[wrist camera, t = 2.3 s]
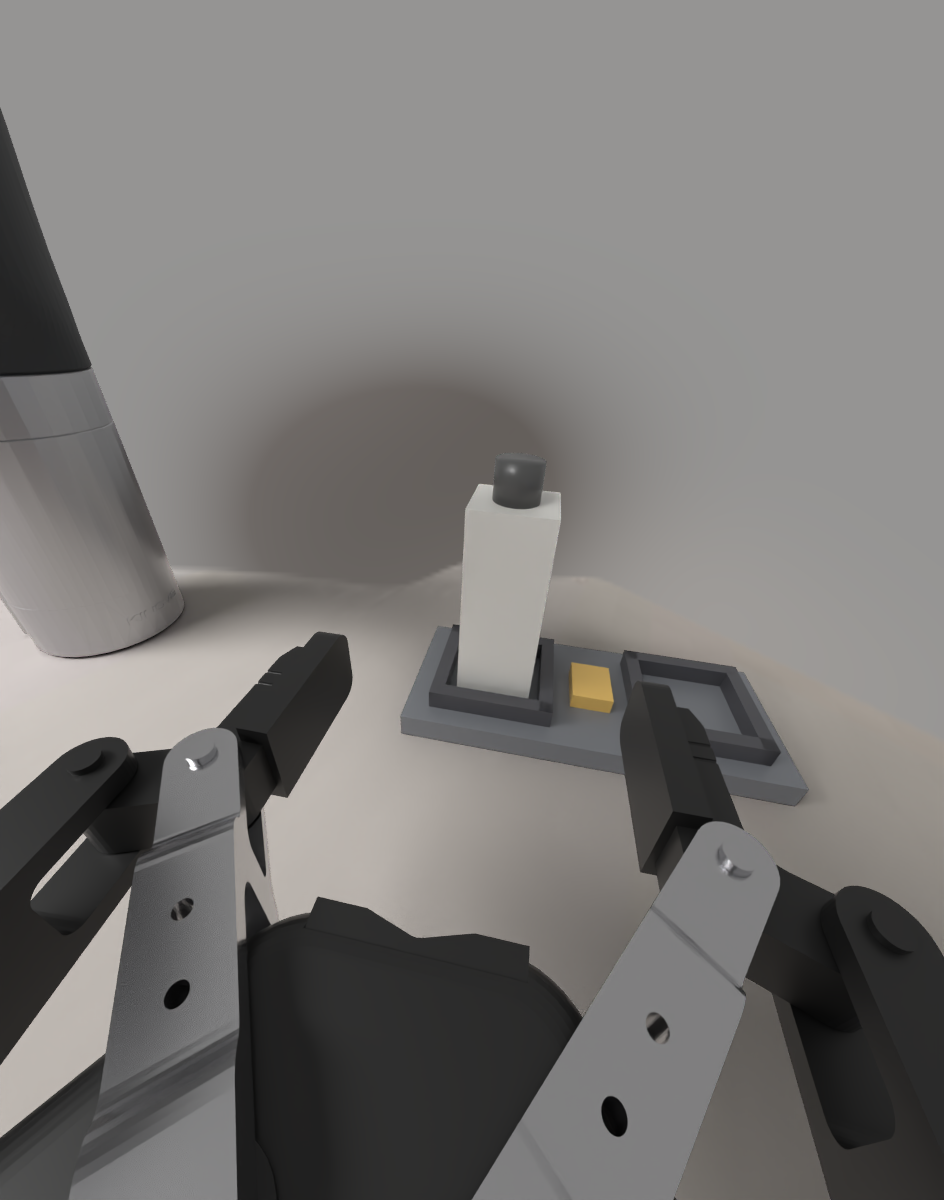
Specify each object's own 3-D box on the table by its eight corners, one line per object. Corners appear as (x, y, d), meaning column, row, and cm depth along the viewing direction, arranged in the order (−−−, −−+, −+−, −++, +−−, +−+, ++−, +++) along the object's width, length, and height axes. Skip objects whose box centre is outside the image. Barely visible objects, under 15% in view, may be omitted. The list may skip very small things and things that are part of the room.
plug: (456, 693, 26) (467, 465, 18) (468, 652, 29) (481, 445, 21) (526, 705, 25) (569, 476, 18) (530, 662, 28) (567, 454, 21)
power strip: (401, 733, 25) (399, 701, 23) (438, 641, 32) (438, 613, 31) (794, 806, 22) (820, 776, 21) (735, 687, 30) (751, 659, 28)
